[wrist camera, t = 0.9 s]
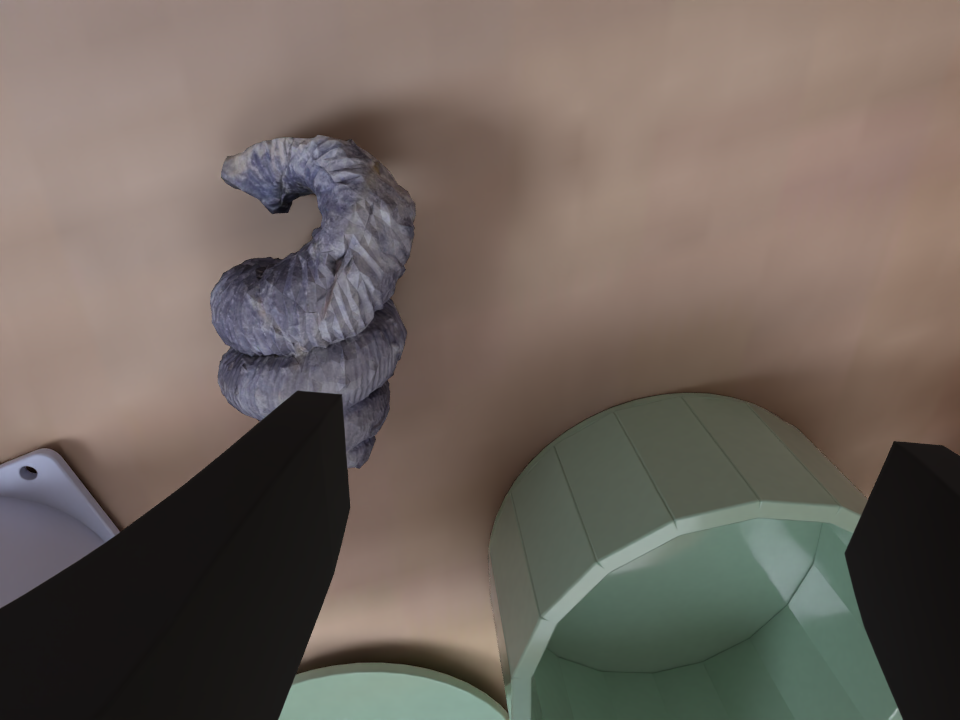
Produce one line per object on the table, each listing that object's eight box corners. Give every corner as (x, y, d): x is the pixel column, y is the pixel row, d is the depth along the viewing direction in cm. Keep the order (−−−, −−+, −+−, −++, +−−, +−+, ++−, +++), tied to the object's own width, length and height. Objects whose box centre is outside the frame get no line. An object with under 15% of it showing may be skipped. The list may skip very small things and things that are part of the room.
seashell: (299, 115, 21) (329, 413, 25) (133, 141, 17) (204, 491, 21) (451, 131, 19) (455, 459, 23) (298, 167, 14) (339, 557, 19)
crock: (554, 715, 31) (589, 874, 25) (431, 474, 25) (441, 607, 19) (853, 608, 30) (962, 747, 24) (795, 333, 24) (918, 428, 18)
